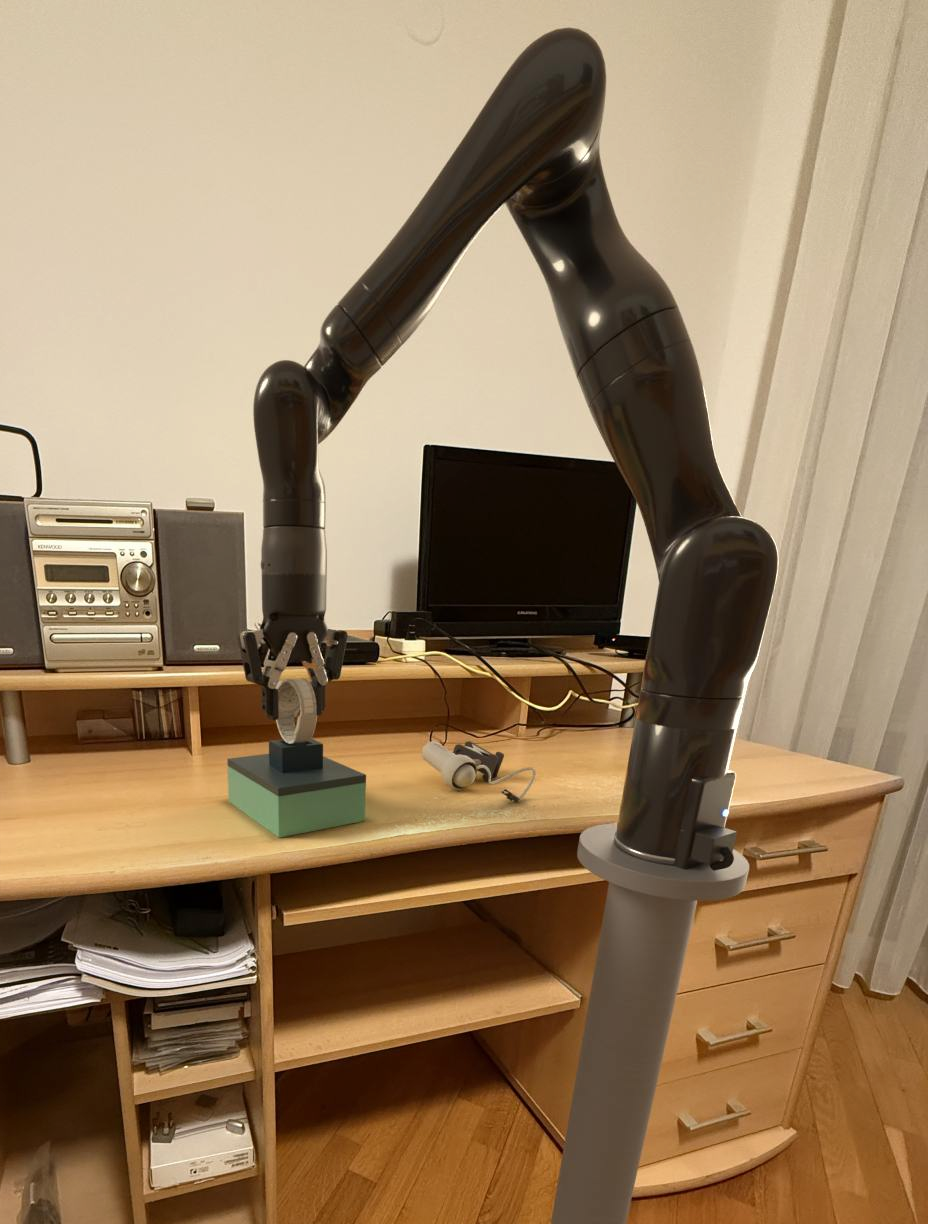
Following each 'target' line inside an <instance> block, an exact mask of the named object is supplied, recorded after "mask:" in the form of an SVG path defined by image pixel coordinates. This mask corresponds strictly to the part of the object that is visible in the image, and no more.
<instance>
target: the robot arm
mask: <svg viewBox="0 0 928 1224" xmlns="http://www.w3.org/2000/svg"><path fill="white" fill-rule="evenodd" d="M606 94H607V69H606V61H605V58H604V54H603V52H602V49H601V47H600V45H599V44H598V42H597V40H596V39H594V38H593V37H592V36H591V35H590V34H589V33H588V32H586V31H584V30H582V29H580V28H575V27H563V28H556V29H554V30H551V31H549V32H547V33H544V34H542V35H541V36H539V37H538V38H537V39H535V40H534V41H532V42H531V43H530V44H529V45H527V47H525V48H524V50H523V51H522V52H521V53H520V54H519V55H518V56H517V57H516V59H515V60H514V61H513V63H512V64H511V66H509V68H508V69H507V71H506V72H505V74H504V75H503V76H502V78H501V79H500V80H499V82H498V84H497V86H496V87H495V89H494V90H493V91H492V93H491V94H490V95H489V98H488V99H487V101H486V102H485V103H484V106H483V107H482V109H481V110H480V111H479V113H478V115H477V117H476V118H475V119H474V120H473V123H472V124H471V126H470V128H469V129H468V131H467V132H466V134H465V135H464V136H463V138H462V139H461V141H460V143H459V144H458V146H457V147H456V148H455V150H454V151H453V153H452V154H451V155H450V157H449V159H448V160H447V162H446V163H445V165H444V166H443V168H442V169H441V171H439V173H438V175H437V176H436V178H435V179H434V180H433V182H432V183H431V185H430V186H429V188H428V190H427V191H426V192H425V194H424V195H423V197H422V198H421V200H420V201H419V202H418V204H417V206H416V207H415V208H414V209H413V211H412V212H411V214H410V215H409V216H408V218H407V219H406V221H405V222H404V223H403V224H402V226H400V228H399V230H398V231H397V232H396V234H395V235H394V236H393V238H392V239H391V240H390V242H389V243H388V244H387V245H386V246H385V247H384V249H383V250H382V251H381V252H380V253H379V255H378V256H377V257H376V259H374V261H373V262H372V263H371V265H369V267H368V268H367V269H366V270H365V271H364V272H363V273H362V275H361V276H360V277H359V278H358V279H357V281H355V283H354V284H352V286H351V287H350V288H349V289H348V291H347V292H346V293H345V294H344V295H343V296H342V297H341V298H340V300H339V301H338V302H337V304H336V305H334V307H332V309H331V310H330V311H329V313H328V314H327V316H326V317H325V318H324V320H323V322H322V324H321V326H320V331H319V343H318V346H317V347H316V349H315V350H314V352H313V353H312V354H311V355H310V357H309V359H308V360H307V361H306V363H305V364H304V365H303V364H301V363H299V362H296V361H294V360H290V359H282V360H278V361H275V362H273V363H272V364H270V365H269V366H268V367H267V368H266V369H265V370H264V371H263V372H262V374H261V375H260V377H259V378H258V380H257V384H256V385H255V390H254V395H253V405H252V406H253V407H252V413H253V414H252V416H253V429H254V436H255V444H256V451H257V456H258V463H259V468H260V473H261V477H262V485H263V487H262V527H263V529H262V540H261V547H260V548H261V551H260V552H261V560H260V569H261V610H262V611H261V612H262V621H261V624H260V626H259V628H257V629H253V630H249V631H247V630H240V631H238V632H237V635H236V637H237V642H238V647H239V653H240V657H241V661H242V662H241V663H242V667H243V672H244V676H245V680H246V681H247V682H249V683H252V684H255V685H258V686H259V687H260V691H261V692H260V693H261V695H260V697H261V700H260V701H261V712H262V714H263V715H265V717H266V719H267V720H271V721H276V720H277V719H278V717H279V703H278V689H276V687H277V684H278V682H280V678H281V675H282V673H283V672H284V671H285V670H286V667H287V665H288V663H293V662H296V661H300V662H301V663H302V666H303V667H304V668H305V670H306V672H307V675H308V678H309V680H310V681H309V682H310V684H311V685H312V687H313V690H314V694H315V699H316V715H317V717H320V716H322V714H323V712H324V711H325V709H326V689H327V688H326V687H327V685H328V684H329V682H332V681H334V680H335V681H336V680H339V679H340V678H341V674H342V670H343V663H344V658H345V652H346V647H347V643H348V632H347V631H346V630H342V629H332V628H328V626H327V623H326V620H325V615H326V612H327V585H328V584H327V581H328V580H327V579H328V577H327V576H328V549H327V546H328V545H327V538H326V503H327V502H326V486H325V485H326V484H325V481H324V479H323V476H322V474H321V471H320V466H319V444H321V443H322V442H323V441H325V440H326V439H327V438H328V437H329V435H331V434H332V433H333V432H334V430H335V429H336V428H337V427H338V425H339V424H340V423H341V421H342V420H343V419H344V417H345V416H346V414H347V413H348V411H349V410H350V408H351V407H352V405H353V404H354V403H355V402H356V400H357V398H358V397H359V395H360V394H361V391H362V390H363V388H364V387H365V386H366V385H367V382H368V381H369V380H370V379H371V378H373V376H374V375H376V373H377V372H379V371H380V370H381V368H382V367H384V365H385V364H386V363H387V362H388V361H389V360H390V359H391V358H392V357H393V356H394V355H395V353H396V352H397V351H398V350H399V349H400V348H401V347H402V346H403V345H404V344H405V343H406V342H407V341H408V339H409V338H411V336H412V335H413V334H414V333H415V332H416V331H417V329H418V328H419V327H420V325H421V324H422V323H423V322H424V320H425V319H426V318H427V316H428V314H429V313H430V312H431V310H432V308H433V307H434V305H435V304H436V302H437V301H438V299H439V298H440V297H441V294H442V293H443V290H444V289H445V287H446V285H447V283H448V282H449V281H450V279H451V277H452V276H453V274H454V273H455V271H456V269H457V267H458V265H459V264H460V262H461V261H462V259H463V258H464V256H465V255H466V253H467V252H468V250H469V248H470V247H471V246H472V244H473V243H474V241H475V240H476V239H477V237H478V236H479V235H480V233H482V230H484V228H485V227H486V226H487V225H488V224H489V222H490V221H491V220H492V219H493V217H494V216H495V215H496V214H497V213H498V212H499V211H500V209H502V207H504V205H505V207H506V209H507V211H508V213H509V214H510V216H511V217H512V220H513V221H514V223H515V226H516V227H517V229H518V230H519V232H520V234H521V236H522V237H523V239H524V241H525V243H526V245H527V247H528V249H529V251H530V253H531V255H532V257H533V259H534V260H535V262H536V264H537V266H538V268H539V270H540V272H541V275H542V276H543V279H544V281H545V284H546V287H547V288H548V292H549V295H550V298H551V303H552V305H553V309H554V313H555V317H556V321H557V323H558V326H559V330H560V333H561V336H562V338H563V342H564V344H565V347H566V350H567V353H568V356H569V359H570V363H571V365H572V368H573V371H574V374H575V377H576V379H577V382H578V384H579V387H580V390H581V392H582V395H583V397H584V400H585V402H586V405H587V407H588V409H589V412H590V415H591V417H592V419H593V421H594V424H595V426H596V427H597V430H598V431H599V434H600V436H601V438H602V440H603V441H604V444H605V446H606V448H607V450H608V452H609V454H610V456H611V458H612V460H613V461H614V463H615V466H616V467H617V469H618V471H619V472H620V474H621V476H622V477H623V479H624V481H625V483H626V484H627V486H628V488H629V490H630V491H631V494H632V496H633V498H634V500H635V502H636V504H637V507H638V509H639V512H640V515H641V517H642V520H643V523H644V526H645V527H644V528H645V530H646V534H647V538H648V541H649V544H650V549H651V553H652V555H653V559H654V564H655V568H656V572H657V579H658V587H657V593H656V598H655V603H654V605H655V606H654V611H653V617H652V622H651V629H650V635H649V640H648V646H647V650H646V655H645V661H644V664H643V672H642V679H641V685H640V690H639V696H638V702H637V708H636V712H635V713H636V714H635V718H634V725H633V731H632V737H631V741H630V749H629V754H628V760H627V765H626V772H625V778H624V783H623V789H622V796H621V800H620V801H621V802H620V806H619V814H618V818H617V819H618V820H617V822H616V823H617V831H616V833H615V836H614V844H615V846H616V847H617V848H618V849H620V850H621V851H623V852H625V853H627V854H629V855H631V856H633V857H636V858H639V859H642V860H645V861H649V862H654V863H658V864H664V865H671V866H675V867H678V868H681V869H689V868H692V867H695V866H698V865H701V864H704V863H706V864H710V868H711V869H712V870H714V871H715V870H720V869H725V868H728V867H730V866H731V865H732V863H733V861H734V856H733V853H732V852H733V849H734V848H735V843H736V839H737V836H738V831H736V830H733V829H731V828H730V829H729V828H726V822H727V819H728V815H729V813H730V810H729V809H730V804H731V801H732V796H733V794H734V793H733V792H734V787H735V784H736V779H737V773H736V772H735V771H732V770H729V767H730V763H731V759H732V754H733V749H734V746H735V741H736V737H737V736H736V735H737V731H738V727H739V722H740V718H741V714H742V711H743V710H742V709H743V704H744V700H745V696H746V692H747V688H748V685H749V681H750V678H751V675H752V672H753V671H754V669H755V666H756V664H757V660H758V657H759V653H760V649H761V646H762V641H763V637H764V634H765V630H766V626H767V621H768V617H769V613H770V608H771V606H772V600H773V596H774V593H775V587H776V583H777V578H778V572H779V551H778V548H777V544H776V541H775V540H774V538H773V536H772V535H771V533H770V532H769V531H768V530H767V529H766V528H765V527H764V526H763V525H761V524H759V523H758V522H756V521H754V520H752V519H749V518H746V517H743V516H742V514H741V512H740V510H739V508H738V507H737V504H736V503H735V501H734V498H733V496H732V493H731V492H730V490H729V488H728V486H727V483H726V481H725V480H724V477H723V474H722V472H721V469H720V465H719V463H718V460H717V457H716V452H715V447H714V443H713V437H712V436H713V435H712V428H711V423H710V416H709V411H708V403H707V398H706V392H705V388H704V387H705V386H704V383H703V379H702V374H701V369H700V366H699V363H698V359H697V355H696V352H695V348H694V345H693V343H692V339H691V337H690V335H689V331H688V328H687V327H686V323H685V321H684V318H683V316H682V313H681V311H680V308H679V306H678V303H677V301H676V298H675V297H674V294H673V293H672V291H671V289H670V287H669V286H668V284H667V282H666V281H665V279H663V277H662V276H661V274H660V273H659V271H657V270H656V268H655V267H654V266H653V265H652V264H651V263H650V262H649V261H648V260H647V259H646V258H645V257H644V256H643V255H642V254H641V252H639V251H638V249H637V248H636V247H635V246H634V245H633V244H632V242H630V240H629V239H628V237H627V236H626V234H625V232H624V231H623V229H622V227H621V225H620V222H619V220H618V217H617V214H616V211H615V208H614V205H613V202H612V199H611V196H610V192H609V189H608V186H607V180H606V177H605V173H604V170H603V169H604V168H603V164H602V159H601V154H600V141H601V139H600V138H601V132H602V126H603V118H604V112H605V106H606ZM262 640H263V642H264V643H265V645H266V646H267V648H268V650H267V653H266V655H265V658H264V661H263V667H262V663H261V658H260V653H259V649H260V648H261V646H262ZM323 642H324V643H325V645H326V649H325V656H324V658H323V656H322V655H323V654H322V652H321V649H320V647H321V645H322V644H323ZM262 668H263V669H262ZM721 860H722V861H721Z"/></svg>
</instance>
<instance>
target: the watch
mask: <svg viewBox="0 0 928 1224" xmlns="http://www.w3.org/2000/svg"><path fill="white" fill-rule="evenodd" d="M311 684H312V683H311V681H309V680H308V679H306V678H305V677H304V678H303V677H302V678H285V679H281V680H279V681H278V684H277V687H276V689H278V703H279V717H278V719H277V720H275V723H276V727H277V729H278V733H279V734H280V736H281V738H282V739H273V740H272V739H271V740H268V754H269V765H271V766H272V767H274V768H275V769H277V770H278V771H280V772H282V773H287V772H295V771H304V770H312V769H321V768H323V756H324V743H323V742H320V741H317V740H316V739H314V738H313V736H314V733H315V730H316V726H317V720H318V716H317V715H316V699H315V694H314V690H313V687H312V685H311ZM298 713H299V715H298ZM295 718H297V720H296V724H295Z"/></svg>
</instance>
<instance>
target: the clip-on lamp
mask: <svg viewBox="0 0 928 1224" xmlns="http://www.w3.org/2000/svg"><path fill="white" fill-rule="evenodd" d="M504 757H505V754H504V753H503V752H500V751H496V752H495V754H494V753H492V752H491V751H489V750H487V749H485V748H483V747H481V746H480V745H478V744H476V743H474V742H473V741H471V740H468V741H465V743H464V745H463V744H461V743H458V744H456V745H454V747H453V751H451V750H450V749H448V748H446V747H445V745H443V744H441V743H440V742H438V741H437V740H436V741H435V740H432V741H428V742H427V743H426V744H424V746H423V747H422V750H421V758H422V759H423V760H424V761H425V762H426V763H427V764H428V765H430V766H431V767H432V768H434V769H435V770H436V771H437V772H439V773H440V774H441V778H442V780H443V782H444V784H445V785H447V786H448V787H449V788H450V789H452V790H458V791H462V790H464V789H467V788H469V786H471V785H472V784H473V783H474V781H476V780H475V779H476V777H477V775H478V772H479V773H481V774H482V779H483V781H486V782H488V785H489V786H494V785H496V784H499V783H501V782H503V781H505V780H508V779H509V778H511V777H513V776H516V775H518V774H521V773H522V772H526V771H531V772H532V776H531V778H530V780H529V782H528V784H527V786H526V788H524V790H523V791H522V792H521V794H520V795H519V796H517V795H516V794H514V793H512V792H511V791H510V790H508V789H506V788H505V789H503V790H502V791H501V794H502V795H504V796H505V797H506V799H507V800H509V801H510V802H512V801H513V802H514V803H519V802H520V800H521V799H523V797H524V796H525V795H526V794H527V792H528V791H529V789H530V788H531V786H532V784H533V782H534V780H535V777H536V769H535V768H534V767H530V766H527V767H523V768H520V769H516V770H515V771H512V772H510V773H508V774H505V775H504V776H502V777H500V778H497V777H498V774H499V771H500V768H501V766H502V763H503V762H504V761H503V760H504ZM496 778H497V779H496ZM493 779H494V780H493ZM492 780H493V781H492Z"/></svg>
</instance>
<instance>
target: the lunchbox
mask: <svg viewBox="0 0 928 1224" xmlns="http://www.w3.org/2000/svg"><path fill="white" fill-rule="evenodd" d="M226 763H227V791H228V803H230V804H231V805H233V806H234V807H235V808H237V809H238V810H240V811H241V812H242V813H243V814H245V815H246V816H248V817H249V818H251V820H254V821H255V822H256V823H257V824H259V825H260V826H262V827H263V828H264V829H266V830H267V831H269V832H270V833H271V834H273V835H274V836H276V838H279V839H280V838H285V837H290V836H295V835H301V834H305V833H310V832H315V831H320V830H325V829H329V828H330V829H331V828H335V827H340V826H345V825H350V824H355V823H360V822H361V823H362V822H365V820H366V799H367V798H366V797H367V796H366V795H367V774H365V773H364V772H360V771H358V770H356V769H354V768H351V767H349V766H346V765H344V764H342V763H341V762H340V763H339V762H338V761H335V760H333V759H331V758H328V757H326V756H324V755H323V768H321V769H312V770H304V771H295V772H287V773H282V772H280V771H278V770H277V769H275V768H274V767H272V766H271V765H269V753H263V754H262V753H261V754H253V755H246V756H239V757H231V758H227V761H226Z"/></svg>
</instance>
